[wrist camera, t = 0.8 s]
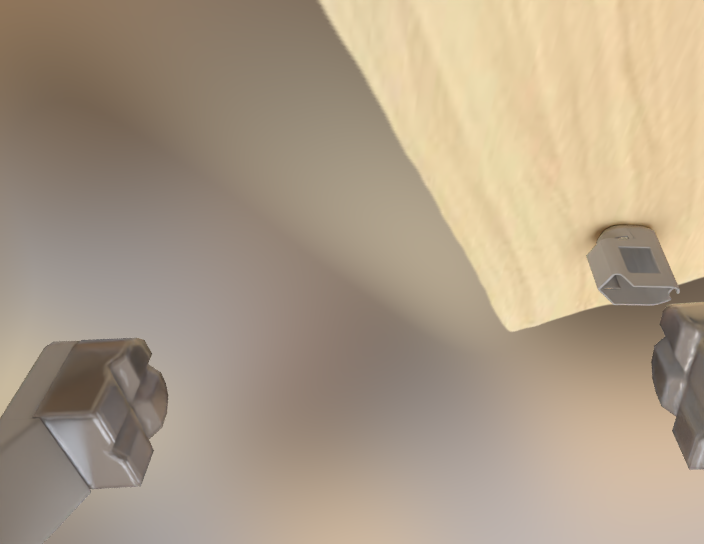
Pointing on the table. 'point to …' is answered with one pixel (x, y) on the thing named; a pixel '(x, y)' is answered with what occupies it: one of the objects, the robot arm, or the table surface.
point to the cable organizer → (631, 267)
